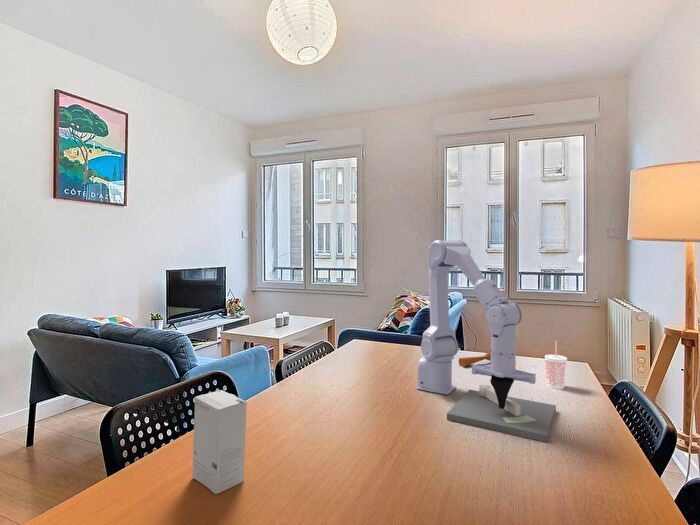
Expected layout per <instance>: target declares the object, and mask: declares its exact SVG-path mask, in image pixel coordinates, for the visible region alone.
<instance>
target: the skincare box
mask: <svg viewBox="0 0 700 525" xmlns="http://www.w3.org/2000/svg"><path fill="white" fill-rule="evenodd" d="M247 403H248V402H247V401H246V400H244V399H242V398H240V397H239V396H236V395H235V394H232V393H229V392H226V391H225V390H222V389H220V390H217V391H212V392H208V393H205V394H200V395H197V396H194V417H193V418H194V419H193V420H194V421H193V441H192V442H193V446H192V469H191V470H192V472H191V477H192V479H195V481H198V482H199V483H200V484H202V485H203V486H204V487H206V488H207V489H209V490H210V492H212V493H213V494H215V495H218V494H220V493H222V492H225V491H227V490H228V489H231V488H233V487H235V486H237V485H239V484H241V483H244V482H245V478H244V477H245V461H246V460H245V458H246V457H245V456H246V454H245V452H246V427H247Z"/></svg>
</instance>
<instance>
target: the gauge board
mask: <svg viewBox="0 0 700 525" xmlns="http://www.w3.org/2000/svg"><path fill="white" fill-rule="evenodd" d="M507 398H508V399H510V400H512V401H513V402H515V403H517V404H519V405H520V416H515V415H514V414H512V413H510V412H509V411H507V410H506V409H501V408H499V405H497V404H496V403H494V402H493V401H491V400H489V399H488V398H486V397H482V396H480V395H479V390H473V389H468V390H467V392H465V394H464V395H462V397H460V399H459V400H458V401H457V402H456V403H455V404H454V405H453V406H452V407H451V409H449V411H447V413H446V420H447V421H452V422H456V423H461V424H466V425H470V426H473V427H477V428H478V427H479V428H483V429H486V430H487V429H488V430H491V431H496V432H500V433H505V434H510V435H512V436H513V435H514V436H517V437H518V436H519V437H523V438H526V439H530V440H535V441H540V442H544V443H545V442H546V443H547V442H548V439H549V435H550V432H551V429H552V425H553V422H554V418H555V415H556V412H557V406H556V405H557V404H552V403H546V402H541V401H535V400H529V399H524V398H517V397H513V396H507Z"/></svg>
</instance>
